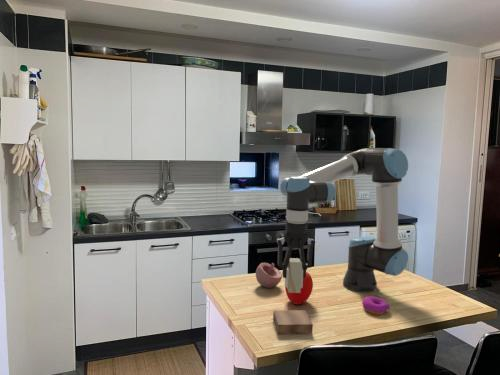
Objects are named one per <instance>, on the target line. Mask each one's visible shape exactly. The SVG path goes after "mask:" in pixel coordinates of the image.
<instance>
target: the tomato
mask: <svg viewBox="0 0 500 375" xmlns="http://www.w3.org/2000/svg"><path fill="white" fill-rule="evenodd" d="M313 287H314V282H313V278H312V276H311V274H310V273H309V272H307V271H306V277H305V278H303V286H302V288H301V291H300V293H289V292H288V290H287V288H286V287H284V290H285V293H286V297H287V299H288V300H289V301H290V302H291V303H292V304H294V305H302V304H303V303H306V301H307V300H308V299H309V298H310V297H311V294H312V292H313Z"/></svg>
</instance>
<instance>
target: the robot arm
mask: <svg viewBox="0 0 500 375" xmlns="http://www.w3.org/2000/svg"><path fill="white" fill-rule="evenodd" d="M407 171H409V162H408V158H407V156H406V154H405V153H404V151H402V150H401V149H397V148H392V147H387V148H386V147H366V148H361V149H358V150H355V151H352V152H350V153H348V154H345V155H343V156H342V157H341V158H340V159H339V160H336V161H334V162H331V163H329V164H326V165H324V166H322V167H319V168H316V169H315V170H312V171H309V172H307V173H304V174H302V175H300V176H290V177H286V178H284V179H283V180H282V181H281V182H280V187H279V188H280V189H279V190H280V193H281V194H282V195H283V196H285V197H286V212H285V213H286V214H285V220H286V222H285V233H284V235H283V236H282V237H281V238H276V243H277V266H278V268H280V269H282V273H281V274H282V279H284V286H285V287H286V288H288V284H289V269H288V263H289V260H290V258H291V255H292V252H293V250H294V249H298V254H299V259H300V260H301V262H302V275H301V288H302V286H303V278H305V277H306V272H307V270H308V269H309V268H312V266H313V255H314V254H313V252H314V246H315V244H316V241H315V240H314V238H309V236H308V220H309V205H310V204H325V203H329V202H332V201H333V200H334V198H335V197H336V188H335V185H334V184H333V183H335V182H337V181H339V180H341V179H344V178H346V177H355V176H357V175H366V176H371V181H372V183H373V184H374V185H375V202H376V203H375V204H376V210H375V211H376V238H375V237H372V236H355V237H352V238H350V240H349V243H348V244H349V245H348V256H347V258H348V260H347V270H346V272H345V274H344V276H343V279H342V281H343V282H342V284H343V286H344V287H345V288H346V289H347V290H351V291H355V292H360V293H370V292H374V291H376V290H377V287H378V286H377V285H378V284H377V279H376V275H375V271H377V272H380V273H384V274H385V275H389V276H393V277H394V276H396V277H397V276H399V275H401V274H402V273H403V271H405V269H406V267H407V265H408V262H409V254H408V252H407V251H406V250H405V249H403V243H402V242H401V241H400V240H399V188H398V187H399V184H401V182H403V178H404V177H406V175H407ZM285 242H286V244H287V247H286V251H285V255H284V256H285V257H284V259H283V251H284V249H283V245H284V244H285ZM306 243H307V244H308V245H307V252H306V253H307V254H306V255H305V249H304V246H305V244H306ZM285 287H284V288H285Z"/></svg>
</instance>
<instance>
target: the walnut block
mask: <svg viewBox="0 0 500 375" xmlns="http://www.w3.org/2000/svg"><path fill="white" fill-rule="evenodd" d="M272 316H273V317H272V321H273V323H274V326H275V330H276V334H277V335H278V336H279V335H280V336H281V335H282V336H284V335H287V336H290V335H313V328H314V324H313V322H312V321H311V319H310V317H309V315H308V313H307V311H306V310H305V309H304V310H303V309H301V310H300V309H299V310H298V309H297V310H293V309H291V310H286V309H285V310H280V309H279V310H273V315H272Z"/></svg>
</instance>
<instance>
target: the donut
mask: <svg viewBox="0 0 500 375" xmlns="http://www.w3.org/2000/svg"><path fill="white" fill-rule="evenodd" d="M361 304H362V308H363V309H364V310H365V311H367V312H368V313H371V314H373V315H375V316H380V315H383V314H384V313H387V312H388V310H390V305H389V304H388V303H387V301H386V300H384V299H382V298H380V297H378V296H377V297H376V296H372V295H371V296H365V297H364V298H363V299H362V301H361Z"/></svg>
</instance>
